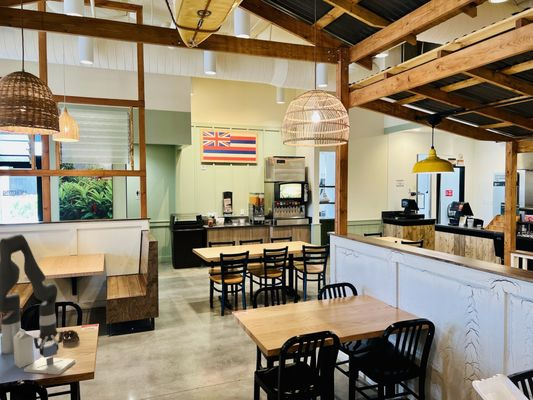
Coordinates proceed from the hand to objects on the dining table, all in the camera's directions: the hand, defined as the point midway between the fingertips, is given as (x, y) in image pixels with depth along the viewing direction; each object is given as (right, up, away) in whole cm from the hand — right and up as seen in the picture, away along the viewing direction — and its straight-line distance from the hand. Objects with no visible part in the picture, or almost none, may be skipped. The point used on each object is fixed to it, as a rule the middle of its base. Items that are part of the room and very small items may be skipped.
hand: (49, 352), depth 203 cm
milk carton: (-16, -8, +4) cm, 18 cm away
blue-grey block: (0, -1, 0) cm, 1 cm away
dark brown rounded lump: (-5, -6, +31) cm, 32 cm away
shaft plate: (0, -8, +1) cm, 8 cm away
